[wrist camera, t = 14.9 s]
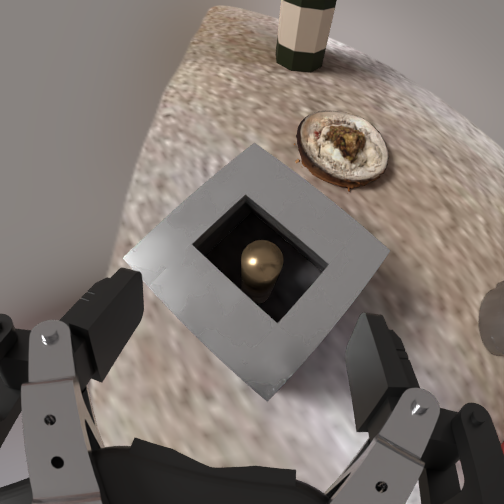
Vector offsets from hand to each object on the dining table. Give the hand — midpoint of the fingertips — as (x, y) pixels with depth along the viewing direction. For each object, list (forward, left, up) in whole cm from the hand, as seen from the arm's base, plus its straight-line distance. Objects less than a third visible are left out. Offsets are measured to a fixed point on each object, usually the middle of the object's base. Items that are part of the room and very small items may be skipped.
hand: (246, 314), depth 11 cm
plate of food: (-26, -7, -20) cm, 33 cm away
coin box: (-5, -3, -19) cm, 20 cm away
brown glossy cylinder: (-5, -3, -19) cm, 20 cm away
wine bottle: (-39, -24, -19) cm, 49 cm away
